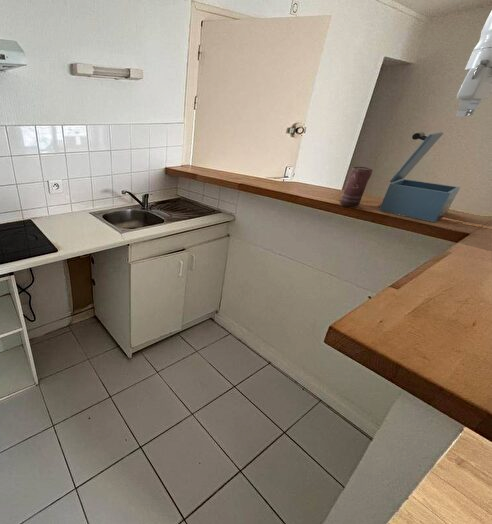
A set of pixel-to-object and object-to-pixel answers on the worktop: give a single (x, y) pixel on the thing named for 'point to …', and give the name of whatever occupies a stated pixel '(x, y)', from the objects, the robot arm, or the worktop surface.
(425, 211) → the blue hinged box
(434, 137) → the blue box lid
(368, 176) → the can
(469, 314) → the worktop surface
